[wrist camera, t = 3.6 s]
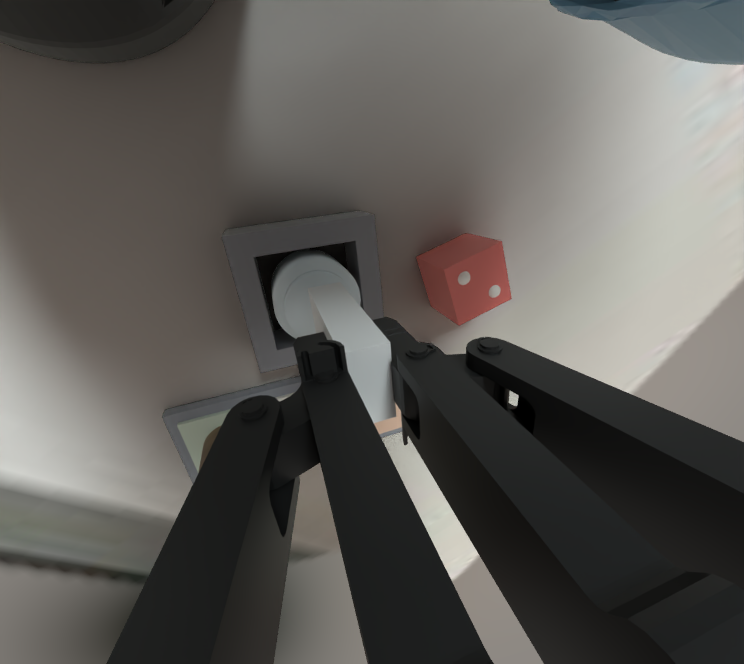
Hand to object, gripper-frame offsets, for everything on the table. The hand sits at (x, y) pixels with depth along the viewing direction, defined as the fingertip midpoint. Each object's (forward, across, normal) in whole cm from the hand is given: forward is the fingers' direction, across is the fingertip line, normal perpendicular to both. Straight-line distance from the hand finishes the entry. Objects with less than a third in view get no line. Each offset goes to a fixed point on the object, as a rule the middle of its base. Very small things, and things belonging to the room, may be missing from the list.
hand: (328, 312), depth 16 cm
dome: (+6, 0, 0) cm, 6 cm away
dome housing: (+7, 0, 0) cm, 7 cm away
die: (+7, +10, -1) cm, 12 cm away
